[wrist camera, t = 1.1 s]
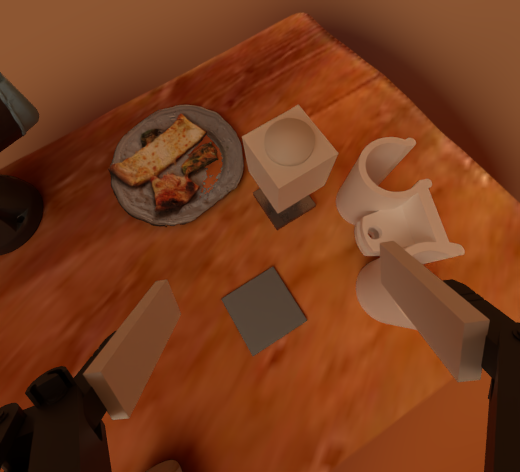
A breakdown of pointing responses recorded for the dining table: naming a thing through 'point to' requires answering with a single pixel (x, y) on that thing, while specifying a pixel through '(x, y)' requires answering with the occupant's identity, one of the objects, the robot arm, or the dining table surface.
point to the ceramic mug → (166, 467)
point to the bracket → (390, 223)
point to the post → (285, 215)
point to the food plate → (174, 165)
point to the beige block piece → (288, 158)
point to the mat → (263, 310)
